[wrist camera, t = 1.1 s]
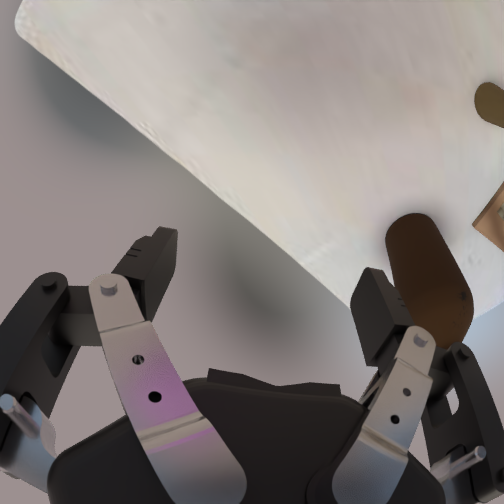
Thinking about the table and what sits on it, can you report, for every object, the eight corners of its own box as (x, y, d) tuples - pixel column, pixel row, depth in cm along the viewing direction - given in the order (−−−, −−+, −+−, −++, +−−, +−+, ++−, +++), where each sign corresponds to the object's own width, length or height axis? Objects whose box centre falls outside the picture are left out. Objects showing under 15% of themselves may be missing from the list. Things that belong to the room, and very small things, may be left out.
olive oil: (379, 215, 41) (416, 368, 22) (441, 205, 37) (506, 345, 19) (382, 264, 47) (404, 402, 28) (437, 255, 43) (477, 385, 25)
